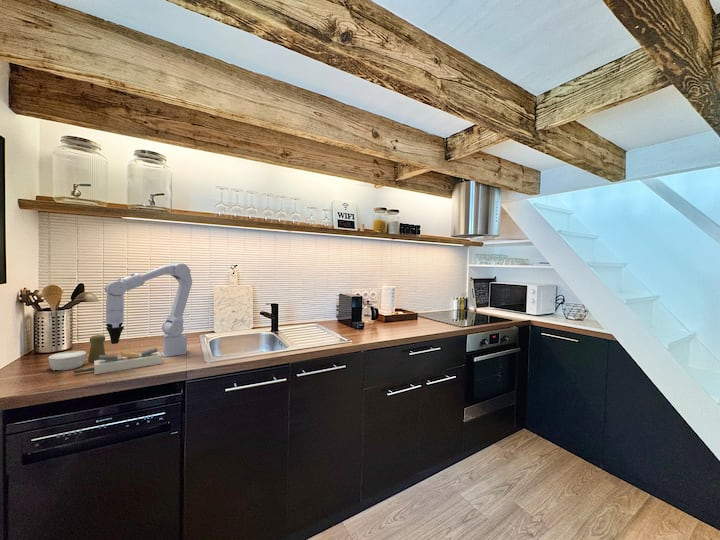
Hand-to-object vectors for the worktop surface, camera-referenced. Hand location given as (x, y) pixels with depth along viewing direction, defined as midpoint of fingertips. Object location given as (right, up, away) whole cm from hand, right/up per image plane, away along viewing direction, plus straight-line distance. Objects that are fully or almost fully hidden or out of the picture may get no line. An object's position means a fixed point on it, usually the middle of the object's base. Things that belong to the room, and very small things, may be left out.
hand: (114, 341), depth 124 cm
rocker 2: (+12, -7, +4) cm, 14 cm away
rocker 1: (+2, -6, -5) cm, 8 cm away
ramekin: (-16, -10, -4) cm, 19 cm away
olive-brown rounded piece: (-12, -10, +5) cm, 17 cm away
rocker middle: (+7, -6, 0) cm, 9 cm away
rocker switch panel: (+5, -10, -2) cm, 11 cm away
